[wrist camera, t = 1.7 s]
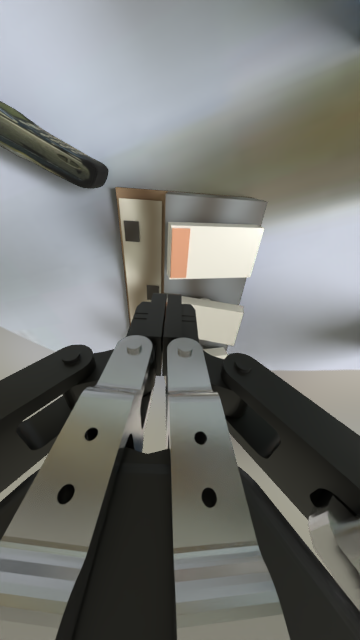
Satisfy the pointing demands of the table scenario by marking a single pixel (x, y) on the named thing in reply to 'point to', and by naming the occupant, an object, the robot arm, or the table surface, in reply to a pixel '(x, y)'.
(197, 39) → the table surface
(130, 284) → the switch box
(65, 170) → the mobile phone
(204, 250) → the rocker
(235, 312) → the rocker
